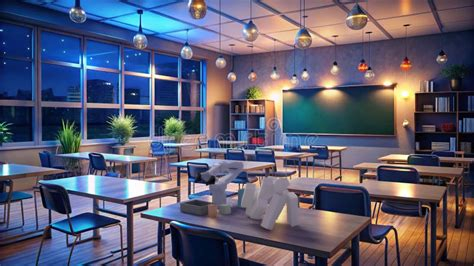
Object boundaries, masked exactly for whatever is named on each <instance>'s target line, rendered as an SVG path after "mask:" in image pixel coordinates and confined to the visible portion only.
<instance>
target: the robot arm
mask: <svg viewBox="0 0 474 266" xmlns="http://www.w3.org/2000/svg"><path fill="white" fill-rule="evenodd" d="M226 171H227V174H225V176H223V177H222V178H221V179H219V177H218V175H220V174H223V173H224V172H226ZM243 171H244V163H243V162H242V161H232V160H231V161H230V160H229V161H228V162H226V161H225V160H224V161H222V162H218V163H212V166H211V167H210V169H208V170H205V172H197V173H196V176H195V179H194V181H193V182H194V184H197V183H199V182H202V180H204V181H205V186H206V187H208V189H209V192H210V193H211V202H213V203H217V209H219V205H221V204H227V194H226V190H227V189H228V185H229V184H230V183H231V182H233V181H234V180H235V179H236V178H237V177H238V176H239V174H241V173H242V172H243Z"/></svg>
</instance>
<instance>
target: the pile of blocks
mask: <svg viewBox="0 0 474 266" xmlns="http://www.w3.org/2000/svg"><path fill="white" fill-rule="evenodd" d="M245 183H246V184H245V187H244V188H245V190H244V194H243V197H242V202H241V207H246V209H245V213H244V214H246V215H247V216H249V218H250V219H253V220H261V218H262V217H263V218H262V221H261V223H260V226H261V227H263V228H265V229H267V230H271V231H272V230H273V229H274V227H275V223H276V221H278V219H279V217H280V215H281V214H282V211H283V210H284V208H285V206H286V222H287V223H288V224H289V225H290V226H291V228H293V227H296V226H298V225H299V224H300V223H299V220H300V219H299V197H298V195H297V194H296V193H295V192H294V191H291V192H290V191H289V190H288V189H287V188H289V186H290V185H291V183H290V180H289V179H288V178H287V177H281V176H280V177H279V178H278V177H276V176H271V175H268V176H267V177H265V176H263V177H262V180H261V183H260V187H259V186H257V184H256V183H252V182H245ZM264 213H265V214H264ZM263 215H264V216H263Z"/></svg>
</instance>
